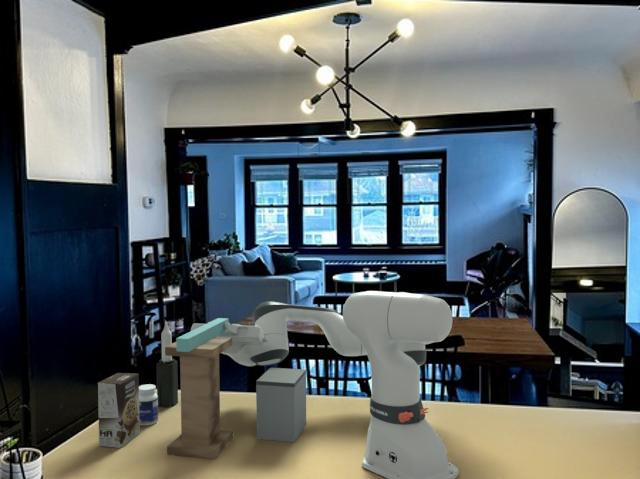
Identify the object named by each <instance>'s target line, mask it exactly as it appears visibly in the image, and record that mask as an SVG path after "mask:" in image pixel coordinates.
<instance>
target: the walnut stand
mask: <svg viewBox="0 0 640 479" xmlns="http://www.w3.org/2000/svg"><path fill="white" fill-rule="evenodd" d="M231 346H232V338H226V337H214V338H213V339H211V340H209V341H207V342H205V343H204V344H202V345H200V346H198V347H197V348H195V349H193V350H191V351H189V352H181V351H177V350H176V341H175V342H172V344H170V345H168V346H166V347H165V355H166V356H172V357H179V368H180V369H179V370H180V373H179V374H180V376H179V378H180V380H179V381H180V414H181V415H180V421H181V422H180V423H181V424H180V426H181V428H180V429H181V433H180V435H179V436H178V437H177V438H175V439H174V440H173V441H172V442H171V443H169V444H168V445H167V446H166V449H167V450H166V452H167V453H166V454H167V455H168V456H177V457H189V458H197V459H208V460H215V459H216V458H217V457H218V456H219V454H221V453H222V451H224V449H225V448H226V447H227V446H228V445H229V444H230V443H231V441H232V440H233V439H234V430H227V429H221V406H220V404H221V398H220V354H222V353H221V352H223V351H225V350H226V349H228V348H229V347H231Z"/></svg>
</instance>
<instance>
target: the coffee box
mask: <svg viewBox="0 0 640 479" xmlns="http://www.w3.org/2000/svg"><path fill="white" fill-rule="evenodd" d="M139 375H140V374H139V373H135V372H134V373H130V372H116V373H115V374H112V375H110V376H109V377H107V378H104V379H103V380H100V381H98V382H97V394H98V395H97V402H98V404H97V406H98V408H97V410H98V446H99V447H106V448H107V447H109V448H117V449H121V448H123V447H125V445H127V444H128V443H129V442H131V441H132V440H134V439H135V438H136V437H137V436H139V435H141V434H140V433H141V432H140V427H141V425H140V420H139V386H140V381H139V380H140V378H139V377H140V376H139Z"/></svg>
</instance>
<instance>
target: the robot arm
mask: <svg viewBox="0 0 640 479" xmlns="http://www.w3.org/2000/svg"><path fill="white" fill-rule="evenodd" d="M343 305H344V306H343V308H342V315H341V314H340V313H339V311H338V310H336V309H333V308H327V307H320V306H310V305H299V304H290V303H284V302H280V301H279V302H278V301H263V302H261V303H259V304H258V305H257V307H256V308H255V309H254V311H253V312H252V318H253V324H254V325H242V324H239V323H230V322H229V323H224V324H223V325H224V326H223V329H224V330H225V332H223V333H222V334H220V335H218V336H216V337H226V338H232V346H231V347H229V348H228V349H226V350H225V351H223V352H221V353H220V354H223V355H225V356H226V355H227V356H228V357H230V358H231V359H232V360H233V361H234V362H236V363H238V364H239V365H242V366H246V367H255V366H259V367H269V366H274V365H278V364H280V363H281V362H282V361H284V360H285V358H287V356H288V355H289V352H290V351H289V350H290V349H289V338H288V327H287V326H288V324H287V323H288V321H296V322H306V323H312V324H313V323H314V324H315V325H317V326H318V327H320V328H321V330H322V331H323V333H324V335H325V337H326V339H327V341H328V343H329V345H330V346H331V347H332V348H333V350H334V351H336V353H337V354H339V355H341V356H344V357H359V356H360V357H361V356H367V358H368V362H369V366H370V373H371V374H370V375H371V376H370V377H371V396H370V398H369V413H370V415H371V417H370V421H369V426H368V428H367V433H366V434H367V436H366V445H365V452H364V458H363V460H362V462H361V466H362V468H363V469H366V470H368V471H371V472H373V473H375V474H377V475H379V476H382V477H384V478H385V479H456V478H457V477H458V476H459V474H460V470H459V468H458V467H457V465H455V464H453V463H452V462H450V461H449V459H448V450H447V446H446V444H445V443H444V441H443V439H442V436H441V435H440V434H438V433H437V432H436V430H435V429H434V428H433V427H432V426H431V424H430V423H429V422H428V420H427V419H426V414H427V413H428V414H429V411H428V410H429V408H428V407H424V405H423V401H422V399H421V398H420V396H421V394H420V390H421V388H420V385H421V384H420V383H421V380H420V379H421V376H420V375H421V374H420V372H421V371H420V368H419V367H420V366H423V365H424V364H425V363H426V361H427V350H426V345H429V344H430V345H431V344H433V343H439V342H442V341H444V340H445V339H446V338H447V337H448V335H449V334H450V332H451V329H452V327H453V312H452V309H451V308H450V305H449V304H448V303H447V302H446V300H444V299H442V298H439V297H435V296H432V295H429V294H423V293H410V292H405V291H399V292H398V291H397V292H395V291H382V290H381V291H380V290H366V291H360V292H354V293H351V294H350V295H349V296H348V298H346V300H345V303H344V304H343ZM209 322H210V321H208V322H207V323H209ZM205 324H206V323H198V322H197V323H196V322H195V323H192V326H191V328H190V331H192V330H195V329H197V328H199V327H201V326H203V325H205Z"/></svg>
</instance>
